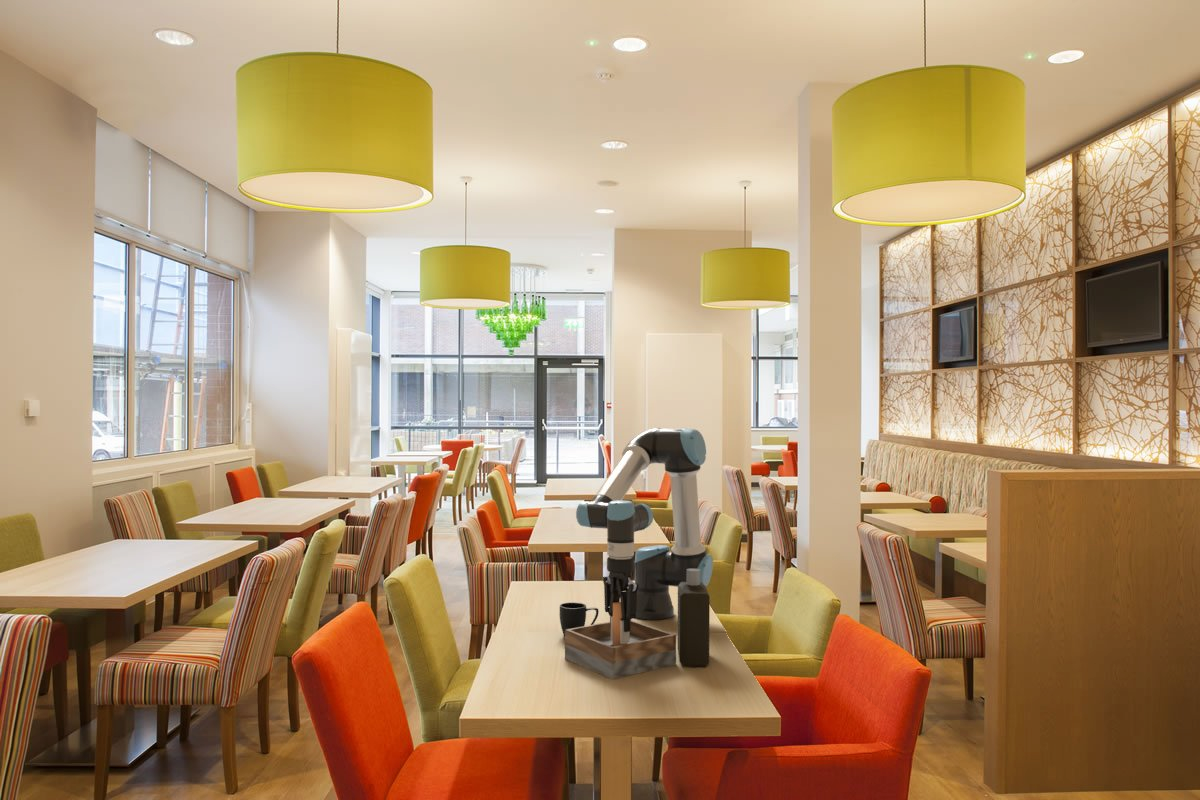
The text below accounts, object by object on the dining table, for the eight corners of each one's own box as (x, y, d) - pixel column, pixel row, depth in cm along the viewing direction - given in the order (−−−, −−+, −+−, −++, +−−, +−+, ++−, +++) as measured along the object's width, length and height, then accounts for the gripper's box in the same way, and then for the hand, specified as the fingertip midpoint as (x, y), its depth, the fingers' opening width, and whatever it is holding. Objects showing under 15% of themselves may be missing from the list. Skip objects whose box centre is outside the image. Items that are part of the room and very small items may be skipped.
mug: (596, 641, 249) (596, 609, 249) (557, 639, 250) (557, 607, 250) (599, 633, 257) (600, 603, 257) (561, 632, 258) (562, 601, 258)
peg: (621, 650, 231) (621, 601, 232) (629, 654, 228) (630, 603, 228) (609, 653, 229) (609, 603, 229) (618, 656, 226) (618, 605, 226)
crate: (626, 645, 244) (626, 618, 244) (675, 664, 226) (676, 634, 226) (564, 658, 231) (565, 629, 231) (612, 679, 213) (612, 648, 213)
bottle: (680, 667, 224) (680, 575, 224) (677, 650, 240) (677, 564, 240) (709, 668, 223) (710, 575, 223) (704, 650, 239) (705, 564, 239)
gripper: (592, 553, 234) (591, 636, 233) (628, 562, 220) (628, 650, 220) (613, 551, 238) (612, 632, 238) (650, 559, 225) (649, 646, 224)
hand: (619, 641), depth 229 cm, fingers closed on peg, 4 cm apart
